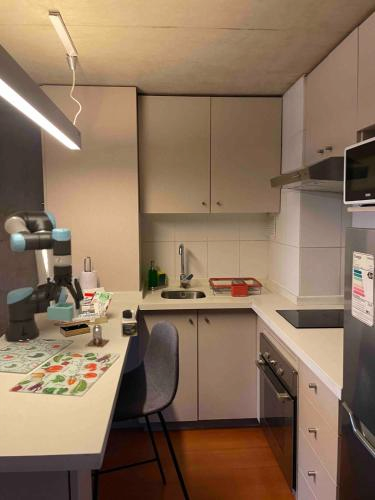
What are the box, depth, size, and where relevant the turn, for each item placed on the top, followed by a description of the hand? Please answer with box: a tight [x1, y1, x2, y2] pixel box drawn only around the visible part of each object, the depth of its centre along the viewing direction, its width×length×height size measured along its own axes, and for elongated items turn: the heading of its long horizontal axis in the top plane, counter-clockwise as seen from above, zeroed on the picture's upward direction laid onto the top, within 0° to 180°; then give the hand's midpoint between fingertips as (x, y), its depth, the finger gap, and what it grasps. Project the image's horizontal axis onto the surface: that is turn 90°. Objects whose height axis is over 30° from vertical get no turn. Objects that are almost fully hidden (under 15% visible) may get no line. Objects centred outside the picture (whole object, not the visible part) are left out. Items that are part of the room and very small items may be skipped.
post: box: [85, 324, 110, 348], centre depth 169 cm, size 8×8×9 cm
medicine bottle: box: [120, 309, 138, 338], centre depth 182 cm, size 7×7×12 cm
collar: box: [46, 301, 82, 322], centre depth 159 cm, size 10×10×5 cm
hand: (64, 316), depth 159 cm, fingers closed on collar, 10 cm apart
